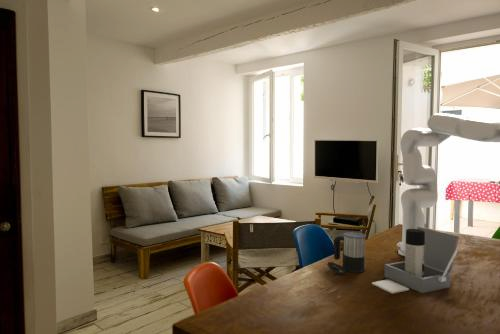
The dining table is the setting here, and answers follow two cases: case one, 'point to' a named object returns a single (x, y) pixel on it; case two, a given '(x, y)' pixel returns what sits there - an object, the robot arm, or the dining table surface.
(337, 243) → the milk frother
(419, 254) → the spray can
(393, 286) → the pad
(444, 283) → the case
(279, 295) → the dining table surface
